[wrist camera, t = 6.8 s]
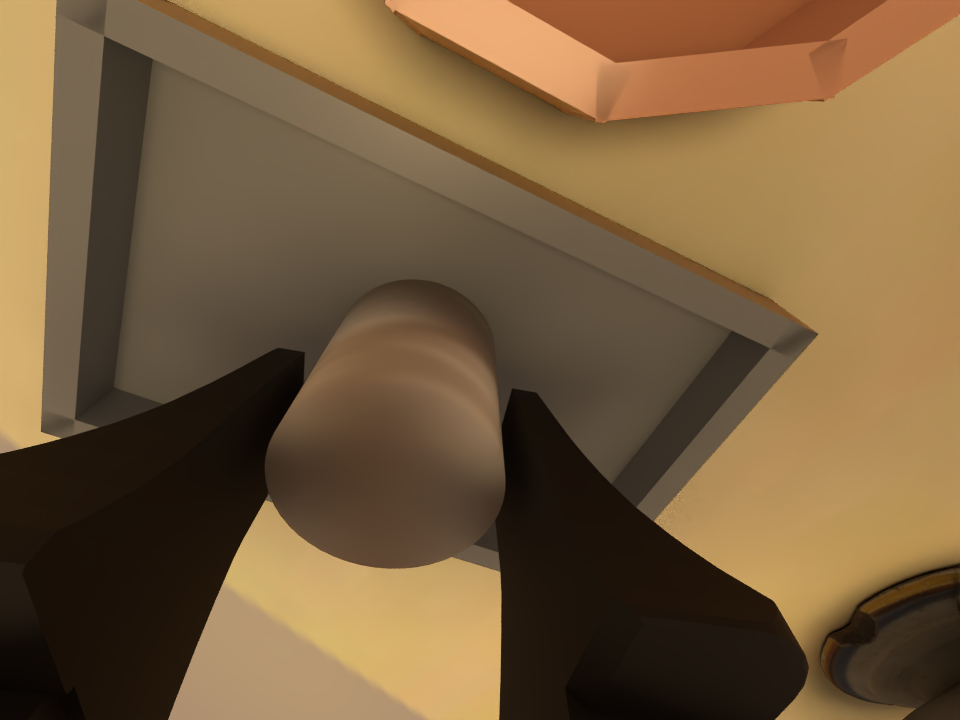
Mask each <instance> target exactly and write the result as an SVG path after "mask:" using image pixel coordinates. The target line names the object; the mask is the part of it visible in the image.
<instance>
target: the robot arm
mask: <svg viewBox="0 0 960 720" xmlns="http://www.w3.org/2000/svg"><path fill="white" fill-rule="evenodd" d="M304 365H305V352H301V351H295V350H289V349H283V348H276V349H274V350H272V351H270V352H268V353H266V354H264V355H262V356H260V357H259V358H257V359H255V360H253V361H251V362H249V363H248V364H246V365H244V366H242V367H240V368H238V369H236V370H234V371H232V372H231V373H229V374H227V375H225V376H223V377H221V378H219V379H217V380H215V381H213V382H211V383H209V384H207V385H205V386H203V387H201V388H198V389H196V390H194V391H192V392H190V393H188V394H185V395H183V396H181V397H179V398H177V399H175V400H173V401H170V402H168V403H166V404H163V405H161V406H158V407H156V408H153V409H151V410H148V411H146V412H143V413H140V414H137V415H135V416H132V417H129V418H126V419H124V420H121V421H118V422H115V423H112V424H109V425H106V426H102V427H99V428H96V429H92V430H89V431H86V432H82V433H79V434H75V435H72V436H69V437H65V438H62V439H59V440H55V441H51V442H48V443H44V444H40V445H36V446H31V447H27V448H23V449H19V450H15V451H11V452H6V453H1V454H0V720H168V718H169V716H170V713H171V710H172V708H173V705H174V702H175V700H176V697H177V694H178V692H179V689H180V687H181V684H182V682H183V679H184V676H185V674H186V671H187V669H188V666H189V664H190V661H191V659H192V656H193V654H194V651H195V648H196V646H197V644H198V641H199V639H200V636H201V634H202V631H203V629H204V627H205V624H206V622H207V619H208V617H209V614H210V612H211V610H212V607H213V605H214V602H215V600H216V598H217V595H218V593H219V591H220V588H221V586H222V584H223V581H224V579H225V577H226V575H227V572H228V570H229V568H230V565H231V563H232V561H233V558H234V556H235V554H236V552H237V550H238V548H239V546H240V544H241V542H242V540H243V538H244V537H245V535H246V533H247V531H248V530H249V528H250V526H251V524H252V522H253V521H254V519H255V517H256V515H257V514H258V512H259V510H260V508H261V507H262V505H263V503H264V501H265V499H266V498H267V496H268V494H269V492H268V488H267V484H266V479H265V458H266V453H267V449H268V445H269V443H270V441H271V438H272V436H273V434H274V432H275V431H276V429H277V427H278V426H279V424H280V422H281V421H282V419H283V417H284V416H285V414H286V413H287V411H288V409H289V408H290V406H291V404H292V403H293V401H294V400H295V398H296V396H297V395H298V393H299V391H300V390H301V388H302V386H303V385H304ZM501 431H502V443H503V455H504V467H505V494H504V499H503V503H502V506H501V509H500V511H499V514H498V516H497V517H496V519H495V523H496V532H497V542H498V552H499V562H500V573H501V591H502V605H501V683H500V715H499V720H775V719H776V718H777V717H778V716H779V715H780V714H781V713H782V712H783V710H784V709H785V708H786V707H787V706H788V705H789V704H790V703H791V702H792V701H793V700H794V699H795V698H796V696H797V695H798V694H799V692H800V691H801V689H802V688H803V687H804V684H805V682H806V678H807V674H808V669H809V667H808V663H807V660H806V656H805V654H804V652H803V650H802V649H801V647H800V645H799V643H798V642H797V640H796V638H795V637H794V635H793V633H792V631H791V630H790V628H789V626H788V624H787V623H786V621H785V619H784V617H783V616H782V614H781V612H780V611H779V609H778V607H777V606H776V604H775V602H774V601H772V600H771V599H769V598H767V597H766V596H764V595H762V594H761V593H759V592H757V591H756V590H754V589H752V588H751V587H749V586H747V585H745V584H744V583H742V582H740V581H739V580H737V579H735V578H734V577H732V576H730V575H729V574H727V573H725V572H724V571H722V570H720V569H719V568H717V567H716V566H714V565H713V564H711V563H710V562H708V561H707V560H705V559H704V558H702V557H701V556H699V555H698V554H696V553H695V552H694V551H692V550H691V549H689V548H688V547H686V546H685V545H684V544H682V543H681V542H679V541H678V540H677V539H675V538H674V537H673V536H671V535H670V534H669V533H667V532H666V531H665V530H663V529H662V528H661V527H660V526H659V525H657V524H656V523H655V522H654V521H652V520H651V519H650V518H649V517H647V516H646V515H645V514H644V513H642V512H641V511H640V510H639V509H638V508H637V507H635V506H634V505H633V504H632V503H631V502H630V501H629V500H628V499H627V498H626V497H625V496H623V495H622V494H621V493H620V492H619V491H618V490H617V489H616V488H615V487H614V486H613V485H612V484H611V483H610V482H609V481H608V480H607V479H606V478H605V477H604V476H603V475H602V474H601V473H600V472H599V471H598V470H597V468H596V467H595V466H594V465H593V464H592V463H591V462H590V461H589V460H588V458H587V457H586V456H585V455H584V454H583V453H582V451H581V450H580V449H579V448H578V447H577V445H576V444H575V443H574V442H573V440H572V439H571V438H570V437H569V435H568V434H567V433H566V432H565V430H564V429H563V428H562V426H561V425H560V424H559V422H558V421H557V419H556V418H555V417H554V415H553V414H552V413H551V411H550V410H549V409H548V407H547V406H546V404H545V403H544V402H543V400H542V399H541V398H540V396H539V395H538V394H537V392H531V391H525V390H519V389H514V388H512V390H511V394H510V397H509V401H508V404H507V408H506V411H505V415H504V419H503V422H502V426H501Z"/></svg>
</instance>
